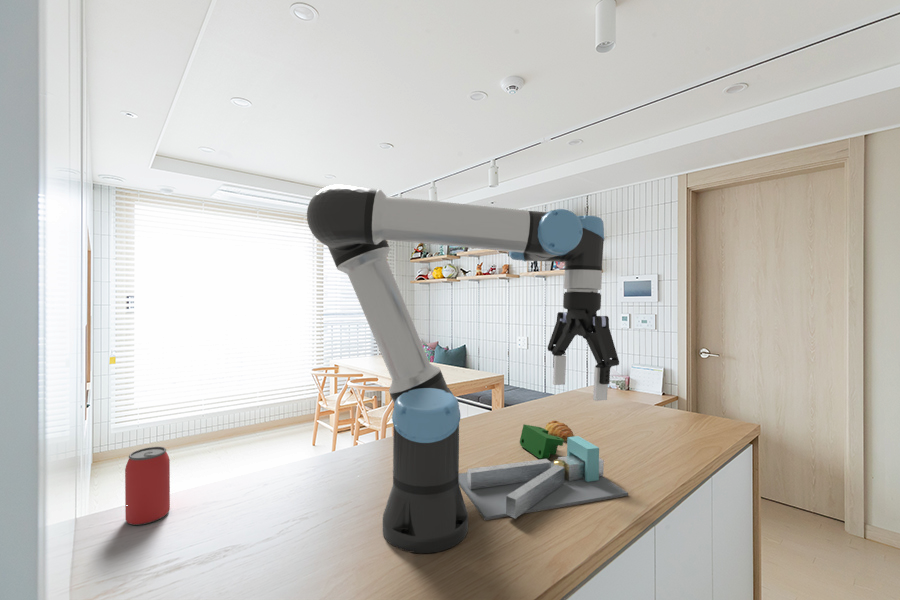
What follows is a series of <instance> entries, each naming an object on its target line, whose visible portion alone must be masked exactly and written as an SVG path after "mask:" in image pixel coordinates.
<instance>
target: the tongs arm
mask: <svg viewBox="0 0 900 600" xmlns="http://www.w3.org/2000/svg"><path fill="white" fill-rule="evenodd" d="M563 484H564V467H562V466H559V465H554V466H553V467H551V468H550V469H548V470H547V471H545V472H543V473H542V474H540V475H539V476H537V477H535V478H534V479H532V480H531V481H529V482H528V483H526V484H524V485H523V486H521V487H520V488H518V489H516V490H515V491H513V492H512V493H510V494H508V495H507V496H506V515H508V516H507V517H510V518H513V519H517V518H518V517H520V516H521V515H523V514H522V513H524V512H525V511H527V510H528V509H529V508H531V507H532V506H534V505H535V504H536V503H538V502H539V501H540V500H542V499H543V498H545V497H546V496H547V495H549V494H550V493H552V492H553V491H554V490H556V489H557V488H558V487H560V486H561V485H563ZM524 514H525V513H524Z"/></svg>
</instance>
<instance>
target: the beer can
mask: <svg viewBox="0 0 900 600" xmlns="http://www.w3.org/2000/svg"><path fill="white" fill-rule="evenodd" d="M170 461H171V460H170V457H169V454H168V453H167V448H166V447H163V446H151V447H150V446H149V447H144V448H141V449H138V450H135V451H133V452H131V453H130V454H129V455H128V460H127V463H126V465H125V468H124V474H125V475H124V479H125V480H124V483H125V484H124V489H125V491H124V494H125V496H124V499H125V503H124V504H125V521H126V523H127V524H129V525H133V526H141V525H147V524H151V523H153V522H156V521H159V520H160V519H162V518H164V517H165V516H166V515H168V513H169V512H170V509H171V494H170V493H171V491H170V488H171V487H170V485H171V484H170V482H171V481H170V477H171V476H170V475H171V472H170V471H171V469H170V464H171V463H170ZM126 505H128V506H126Z"/></svg>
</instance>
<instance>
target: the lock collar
mask: <svg viewBox="0 0 900 600" xmlns="http://www.w3.org/2000/svg"><path fill="white" fill-rule="evenodd" d="M566 442H567V443H566V444H567V446H566V450H567V451H566V456H571V455H576V456H577V457H579V458H581V459H582V460H584V461H585V481H586V482H590V481H597V480H599V458H600V447H598V446H597V445H595V444H594V443H592V442H590V441H588V440H587V439H585V438H582V437H581V436H579V435H574V437H567V441H566Z"/></svg>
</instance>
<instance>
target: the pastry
mask: <svg viewBox="0 0 900 600" xmlns="http://www.w3.org/2000/svg"><path fill="white" fill-rule="evenodd" d="M544 429H546V430H547V431H549V432H548V434H549V435H552V436H557V437H560V438H562V439H563V440H564V442H567V437H574V436H575V435H574V433H573V431H572V429H571V428H570V427H569V426H568V425H567V424H565V423H564V422H560V421H558V420H551V421H549V422H547V423H546V425H545V427H544ZM564 442H563V443H564Z"/></svg>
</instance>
